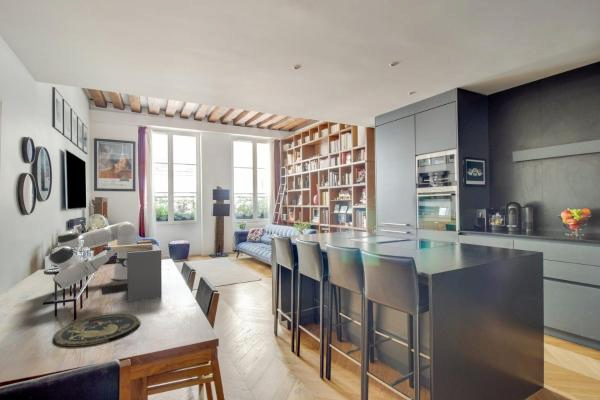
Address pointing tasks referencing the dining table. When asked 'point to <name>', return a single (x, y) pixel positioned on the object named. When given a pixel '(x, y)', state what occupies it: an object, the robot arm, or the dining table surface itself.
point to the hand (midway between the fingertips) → (116, 249)
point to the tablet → (114, 289)
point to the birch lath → (132, 247)
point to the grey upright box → (144, 274)
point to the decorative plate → (96, 330)
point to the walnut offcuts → (144, 242)
